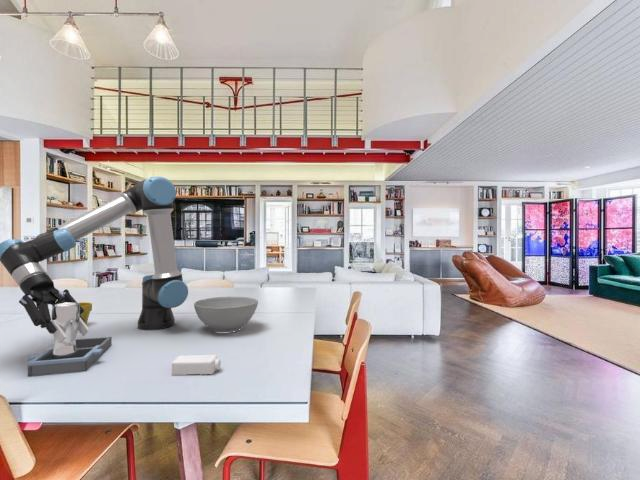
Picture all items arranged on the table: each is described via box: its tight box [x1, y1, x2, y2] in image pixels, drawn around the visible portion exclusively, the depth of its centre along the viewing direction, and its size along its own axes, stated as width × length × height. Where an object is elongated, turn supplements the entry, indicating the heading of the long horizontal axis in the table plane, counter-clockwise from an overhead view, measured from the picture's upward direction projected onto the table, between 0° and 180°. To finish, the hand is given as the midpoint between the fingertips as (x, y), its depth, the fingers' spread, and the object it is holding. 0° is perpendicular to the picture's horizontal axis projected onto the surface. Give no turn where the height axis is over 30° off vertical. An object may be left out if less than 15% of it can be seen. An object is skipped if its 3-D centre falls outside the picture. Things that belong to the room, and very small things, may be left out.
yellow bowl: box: [78, 301, 93, 326], centre depth 145 cm, size 10×10×10 cm
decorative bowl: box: [193, 296, 259, 333], centre depth 143 cm, size 27×27×12 cm
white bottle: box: [171, 354, 222, 376], centre depth 97 cm, size 6×13×4 cm, turn 93°
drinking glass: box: [50, 301, 80, 357], centre depth 100 cm, size 7×7×15 cm
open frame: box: [26, 336, 113, 377], centre depth 106 cm, size 18×25×4 cm
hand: (75, 336), depth 99 cm, fingers closed on drinking glass, 7 cm apart
